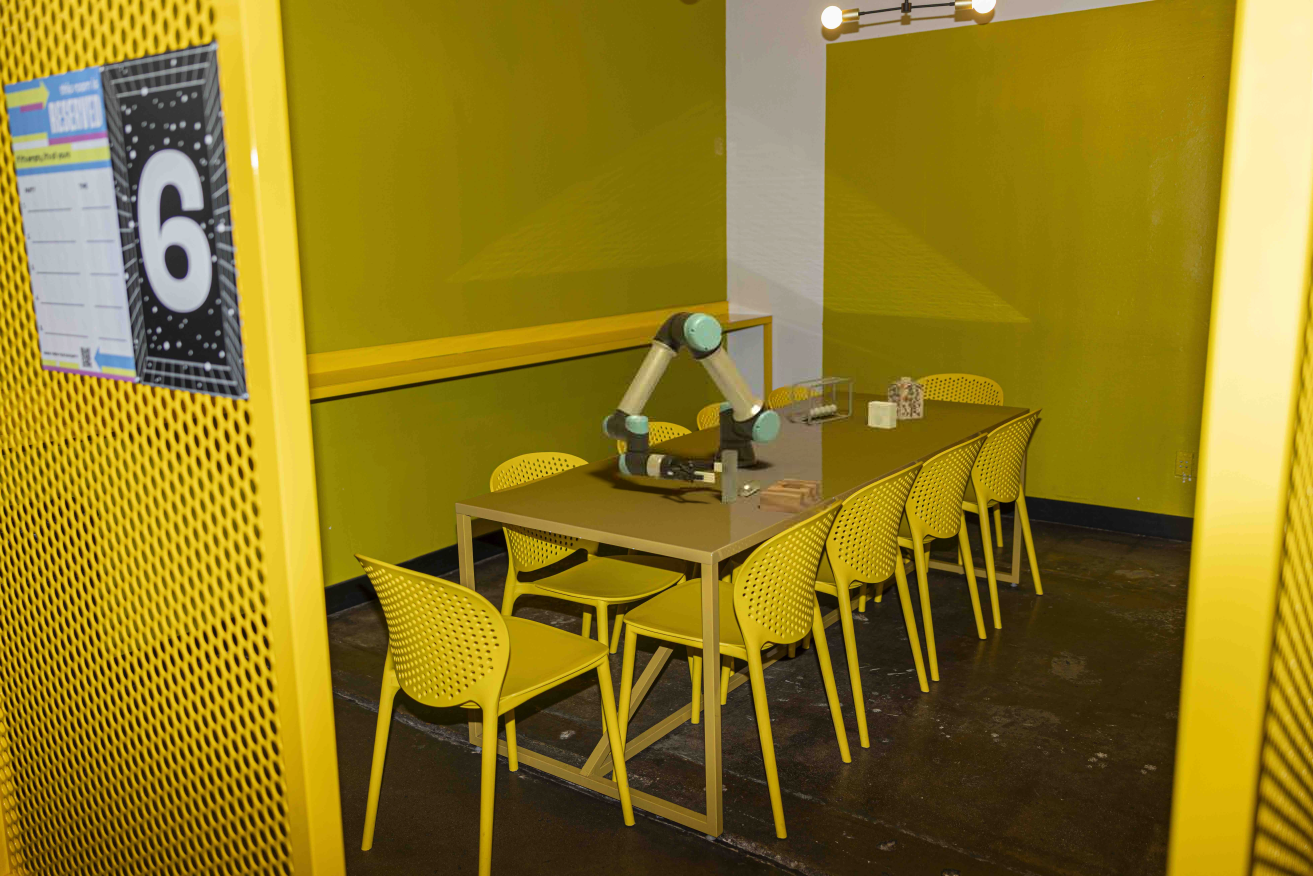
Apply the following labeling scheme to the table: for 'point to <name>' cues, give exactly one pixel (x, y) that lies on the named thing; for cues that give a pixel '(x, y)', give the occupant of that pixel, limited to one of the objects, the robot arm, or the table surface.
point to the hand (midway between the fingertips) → (724, 473)
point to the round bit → (749, 488)
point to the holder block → (790, 495)
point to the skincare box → (882, 414)
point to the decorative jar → (907, 398)
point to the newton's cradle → (821, 410)
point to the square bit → (729, 476)
